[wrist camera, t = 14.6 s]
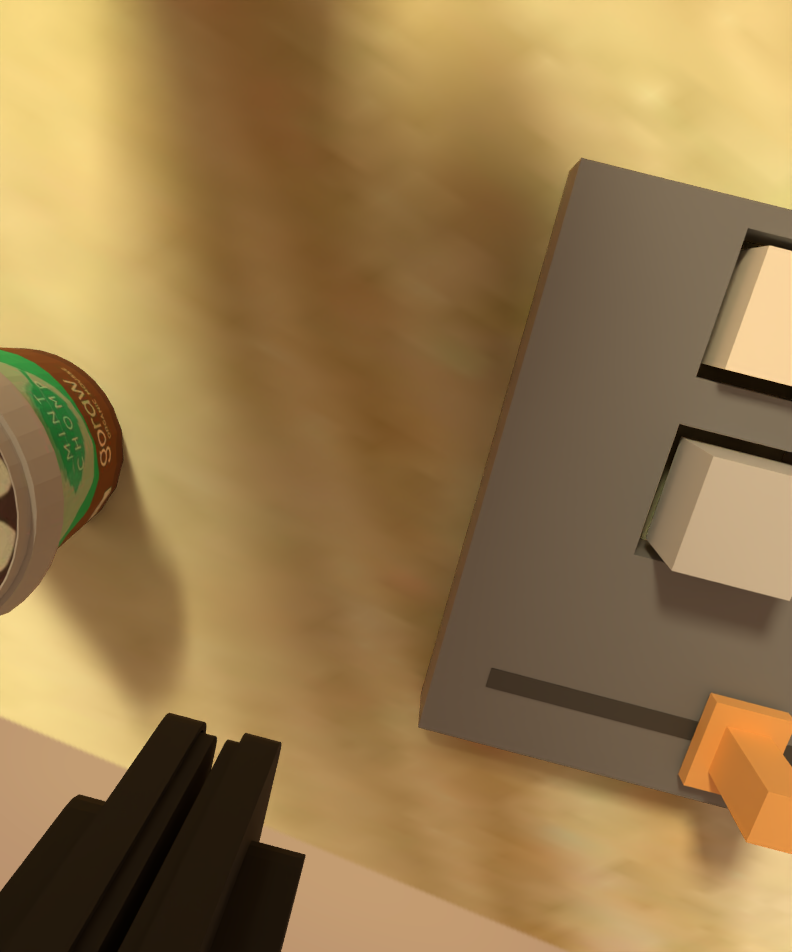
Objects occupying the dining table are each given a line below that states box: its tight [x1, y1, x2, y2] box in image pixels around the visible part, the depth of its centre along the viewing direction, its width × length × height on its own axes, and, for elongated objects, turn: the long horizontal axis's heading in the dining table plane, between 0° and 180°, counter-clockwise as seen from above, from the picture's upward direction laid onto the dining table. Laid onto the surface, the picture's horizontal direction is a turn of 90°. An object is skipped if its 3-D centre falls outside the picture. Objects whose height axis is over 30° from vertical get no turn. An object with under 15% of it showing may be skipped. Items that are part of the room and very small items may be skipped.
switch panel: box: [418, 158, 792, 808], centre depth 33 cm, size 26×20×3 cm
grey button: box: [646, 437, 792, 601], centre depth 30 cm, size 5×5×4 cm
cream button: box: [701, 245, 792, 386], centre depth 30 cm, size 5×5×4 cm
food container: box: [0, 348, 123, 615], centre depth 30 cm, size 12×6×10 cm, turn 32°
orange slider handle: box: [678, 693, 792, 854], centre depth 31 cm, size 4×4×5 cm
